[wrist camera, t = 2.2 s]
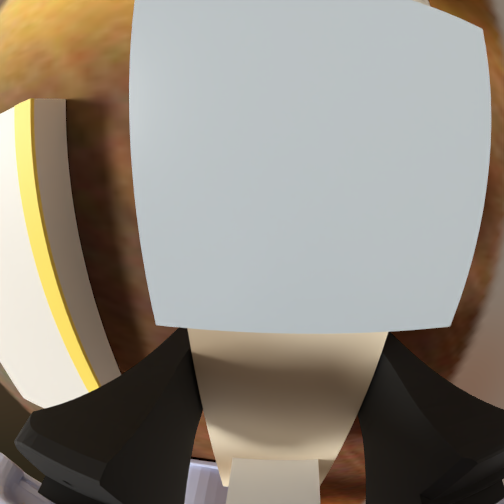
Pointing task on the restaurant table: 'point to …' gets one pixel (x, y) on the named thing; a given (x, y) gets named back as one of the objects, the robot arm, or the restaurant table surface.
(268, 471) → the block
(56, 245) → the dock
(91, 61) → the restaurant table surface
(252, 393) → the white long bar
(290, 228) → the light grey square block
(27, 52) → the restaurant table surface
